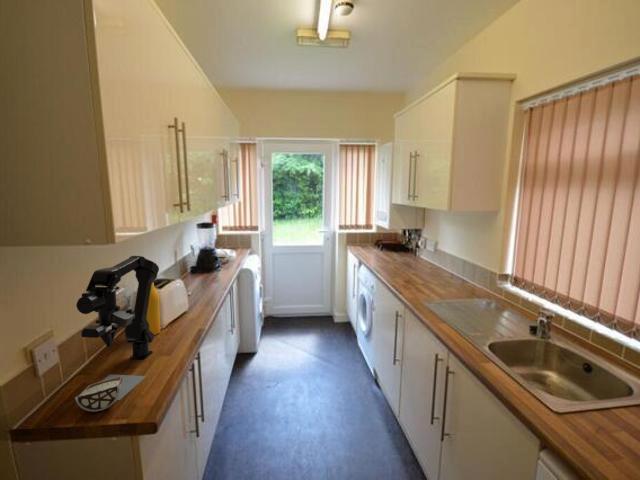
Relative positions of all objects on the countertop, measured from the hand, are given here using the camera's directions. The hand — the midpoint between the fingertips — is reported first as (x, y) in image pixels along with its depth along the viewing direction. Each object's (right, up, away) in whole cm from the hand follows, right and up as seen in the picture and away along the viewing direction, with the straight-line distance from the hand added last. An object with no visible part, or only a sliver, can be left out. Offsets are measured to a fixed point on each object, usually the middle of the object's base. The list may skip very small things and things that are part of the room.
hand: (109, 346), depth 122 cm
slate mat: (+4, -13, -4) cm, 14 cm away
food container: (+5, -11, -9) cm, 15 cm away
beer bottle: (-7, -7, +43) cm, 44 cm away
